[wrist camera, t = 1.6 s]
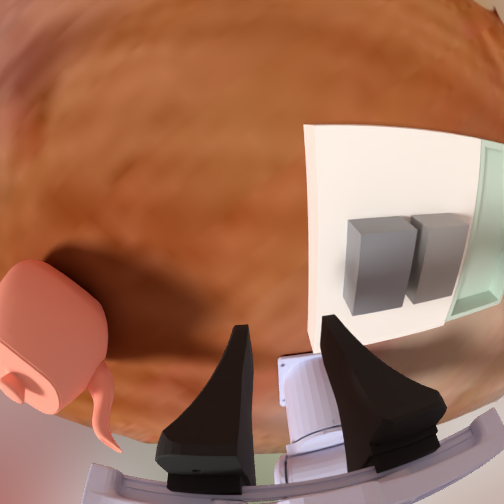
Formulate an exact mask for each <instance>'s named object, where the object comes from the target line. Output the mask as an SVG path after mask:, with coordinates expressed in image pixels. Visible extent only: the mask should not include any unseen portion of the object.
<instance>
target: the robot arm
mask: <svg viewBox="0 0 504 504" xmlns="http://www.w3.org/2000/svg"><path fill="white" fill-rule="evenodd" d="M320 349H321V353H316V354H314V353H308V354H300V355H292V356H284V357H280V358H279V359H278V374H279V393H280V405H281V406H286V410H287V418H288V426H289V434H290V442H291V444H289V445H286V448H287V454H285V455H282V456H280V458H279V460H278V461H277V463H276V465H275V471H274V478H275V484H274V485H260V486H256V477H255V465H254V451H253V435H252V393H253V374H254V371H253V355H252V347H251V341H250V334H249V327H248V324H247V325H235V326H234V327H233V330H232V334H231V337H230V340H229V342H228V345H227V347H226V350H225V352H224V354H223V356H222V358H221V360H220V362H219V364H218V366H217V368H216V370H215V371H214V373H213V375H212V376H211V378H210V380H209V381H208V383H207V384H206V386H205V387H204V388H203V390H202V391H201V392H200V394H199V395H198V396H197V398H196V399H195V400H194V401H193V402H192V404H191V405H190V406H189V407H188V408H187V409H186V410H185V411H184V412H183V413H182V414H181V415H180V416H179V417H178V418H177V419H176V420H175V421H174V422H173V423H171V424H170V425H169V426H168V427H167V428H166V429H164V430H163V431H162V433H161V436H160V439H159V442H158V445H157V451H156V457H155V461H156V462H157V463H158V464H159V465H160V466H161V467H162V468H163V469H164V470H166V471H167V472H168V480H167V482H161V481H154V480H148V479H142V478H137V477H131V476H127V475H123V474H122V473H121V472H120V471H118V470H116V469H114V468H110V467H107V466H103V465H99V464H96V463H91V466H90V470H89V474H88V478H87V482H86V486H85V490H84V494H83V499H82V503H81V504H248V503H247V502H256V501H257V502H258V501H273V500H279V501H278V502H271V503H262V504H413V503H415V502H417V501H419V500H422V499H424V498H426V497H428V496H430V495H432V494H434V493H436V492H438V491H440V490H442V489H444V488H446V487H447V486H449V485H451V484H453V483H455V482H456V481H458V480H460V479H462V478H463V477H465V476H467V475H468V474H470V473H472V472H473V471H475V470H476V469H478V468H480V467H481V466H483V465H484V464H485V463H487V462H488V461H490V460H491V459H492V458H493V457H495V456H496V455H497V454H499V453H500V452H501V451H502V450H503V449H504V425H503V423H502V421H501V419H500V417H499V415H498V413H497V412H496V410H495V408H491V409H490V410H488V411H487V412H485V413H483V414H482V415H480V416H478V417H477V418H476V419H475V420H474V421H473V422H472V423H471V424H470V426H468V427H467V428H465V429H463V430H461V431H459V432H457V433H455V434H453V435H451V436H449V437H447V438H445V439H443V440H441V441H438V439H437V436H436V433H437V432H438V430H437V427H436V424H437V423H438V422H439V420H440V419H441V418H442V417H443V415H444V414H445V412H446V409H447V406H446V404H445V402H444V400H443V398H442V396H441V395H440V393H439V392H438V391H437V390H434V389H432V388H429V387H426V386H424V385H421V384H419V383H417V382H415V381H413V380H411V379H409V378H407V377H405V376H404V375H402V374H400V373H399V372H397V371H395V370H394V369H392V368H391V367H389V366H388V365H386V364H385V363H384V362H382V361H381V360H380V359H379V358H377V357H376V356H375V355H374V354H373V353H371V352H370V351H369V350H368V349H367V348H366V347H365V346H364V345H363V344H362V343H361V342H360V341H359V340H358V339H357V338H356V337H355V336H354V335H353V334H352V333H351V332H350V331H349V330H348V329H347V328H346V327H345V325H344V324H343V323H342V322H341V321H340V320H339V318H338V317H337V316H336V315H335V314H332V315H326V316H322V324H321V337H320Z"/></svg>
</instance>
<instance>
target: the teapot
mask: <svg viewBox="0 0 504 504" xmlns="http://www.w3.org/2000/svg"><path fill="white" fill-rule="evenodd" d="M107 346H108V327H107V321H106V317H105V313H104V311H103V308H102V305H101V304H100V303H99V302H98V301H97V300H96V299H95V298H93V297H92V296H91V295H90V294H89V293H88V292H87V291H85V290H84V289H83V288H81V287H80V286H79V285H78V284H76V283H75V282H74V281H72V280H71V279H70V278H68V277H67V276H66V275H64V274H63V273H61V272H60V271H58V270H57V269H55V268H54V267H52V266H51V265H49V264H47V263H45V262H43V261H40V260H24V261H21V262H18V263H17V264H16V265H15V266H13V267H12V268H11V269H10V270H9V272H8V273H7V274H6V275H5V277H4V278H3V280H2V281H1V283H0V388H1V390H2V391H3V392H4V393H5V394H6V395H7V396H8V397H10V398H11V399H12V400H14V401H15V402H17V403H20V404H23V403H24V401H25V402H27V403H28V404H30V405H31V406H33V407H34V408H36V409H38V410H39V411H41V412H43V413H45V414H55V413H57V412H58V411H60V410H61V409H63V408H64V407H65V406H66V405H68V404H69V403H70V402H71V401H73V400H74V399H75V398H76V397H77V396H79V395H80V394H81V393H82V392H83V391H84V390H85V389H86V388H87V389H88V390H89V392H90V394H91V395H92V398H93V401H94V412H93V421H92V424H93V429H94V431H95V434H96V435H97V437H98V438H99V439H100V440H101V441H102V442H103V443H105V444H106V445H107V446H109V447H110V448H112V449H113V450H115V451H117V452H119V453H122V450H121V449H120V448H119V446H118V445H117V444H116V443H115V440H114V439H113V437H112V435H111V432H110V426H109V419H110V412H111V407H112V402H113V396H114V382H113V378H112V375H111V372H110V370H109V369H108V367H107V365H106V364H105V362H104V359H105V357H106V353H107Z"/></svg>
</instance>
